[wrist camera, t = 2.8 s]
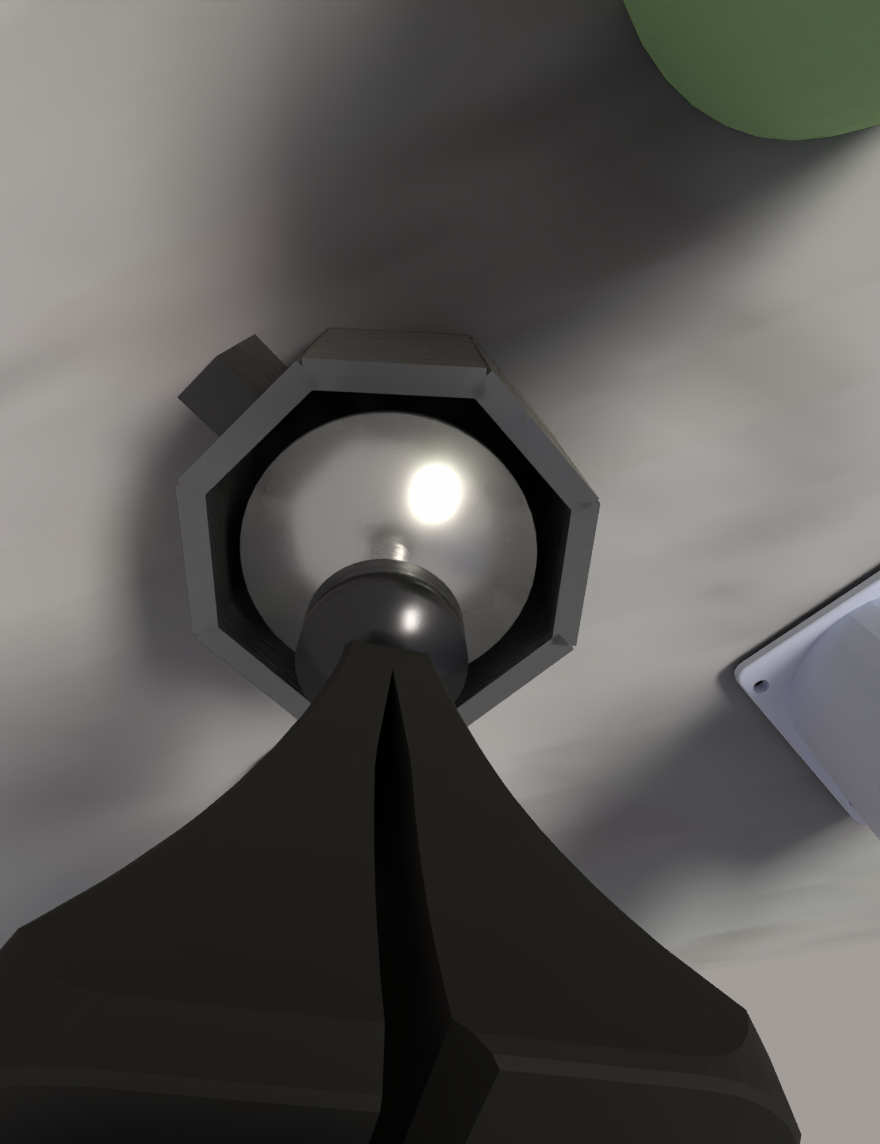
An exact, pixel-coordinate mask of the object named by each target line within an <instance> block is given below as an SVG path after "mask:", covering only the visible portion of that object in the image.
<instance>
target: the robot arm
mask: <svg viewBox="0 0 880 1144" xmlns="http://www.w3.org/2000/svg"><path fill="white" fill-rule="evenodd" d="M734 677H735V679H736V681H737V682H738V683H739V685H740V686H741V687H742V688H743V689H744V691H745V692H746V693H747V694H748V695H749V697H750V698H751V699H752V700H753V701H754V702H755V704H756V705H757V706H758V707H759V708H760V709H761V711H762V712H763V713H764V714H765V715H766V717H767V718H768V719H769V720H770V721H771V722H772V724H773V725H774V726H775V727H776V728H777V730H778V731H779V732H780V733H781V734H782V735H783V737H784V738H785V739H786V740H787V741H788V743H789V744H790V745H791V746H792V747H793V748H794V750H795V751H796V752H797V753H798V754H799V756H800V757H801V758H802V759H803V760H804V761H805V763H806V764H807V765H808V766H809V767H810V769H811V770H812V771H813V772H814V773H815V774H816V776H817V777H818V778H819V779H820V780H821V781H822V783H823V784H824V785H825V786H826V787H827V789H828V790H829V791H830V792H831V793H832V794H833V796H834V797H835V798H836V799H837V800H838V802H839V803H840V804H841V805H842V806H843V807H844V809H845V810H846V811H847V812H848V813H849V815H850V816H851V817H852V818H853V819H854V820H855V822H857V823H858V824H863V825H865V824H867V825H868V826H869V827H870V828H871V830H872V831H873V832H874V834H875V835H876V836H877V837H878V839H879V840H880V571H878V572H877V573H875V574H874V575H872V576H871V577H869V578H868V579H866V580H865V581H863V582H862V583H860V584H859V585H857V586H856V587H854V588H853V589H851V590H850V591H848V592H847V593H845V594H844V595H842V596H841V597H839V598H838V599H836V600H835V601H833V602H832V603H830V604H829V605H827V606H826V607H824V608H823V609H821V610H820V611H818V612H817V613H815V614H814V615H812V616H811V617H809V618H808V619H806V620H805V621H803V622H802V623H800V624H799V625H797V626H796V627H794V628H793V629H791V630H790V631H788V632H787V633H785V634H784V635H782V636H781V637H779V638H778V639H776V640H774V641H773V642H771V643H770V644H768V645H767V646H765V647H764V648H762V649H761V650H759V651H758V652H756V653H755V654H753V655H752V656H750V657H749V658H747V659H746V660H744V661H743V662H741V663H740V664H739V665H738V666H737V667H736V669H735V671H734ZM761 680H763V682H762V683H761V684H760V685H758V686H754V685H755V684H756V683H757V682H758V681H761ZM800 1139H801V1133H800V1130H799V1128H798V1125H797V1123H796V1121H795V1118H794V1116H793V1113H792V1111H791V1108H790V1106H789V1103H788V1101H787V1099H786V1096H785V1094H784V1091H783V1089H782V1087H781V1084H780V1082H779V1080H778V1077H777V1075H776V1072H775V1070H774V1067H773V1065H772V1062H771V1060H770V1058H769V1056H768V1054H767V1051H766V1049H765V1047H764V1045H763V1043H762V1041H761V1039H760V1037H759V1035H758V1033H757V1031H756V1029H755V1027H754V1025H753V1023H752V1021H751V1019H750V1017H749V1015H748V1013H747V1011H746V1010H745V1009H744V1008H743V1007H742V1006H740V1005H739V1004H737V1003H736V1002H735V1001H734V1000H732V999H731V998H730V997H728V996H727V995H726V994H724V993H723V992H722V991H720V990H719V989H718V988H716V987H715V986H714V985H713V984H711V983H710V982H709V981H707V980H706V979H704V978H703V977H702V976H701V975H699V974H698V973H697V972H695V971H694V970H693V969H691V968H690V967H689V966H687V965H686V964H685V963H684V962H682V961H681V960H680V959H678V958H677V957H676V956H674V955H673V954H672V953H670V952H669V951H668V950H667V949H665V948H664V947H663V946H662V945H660V944H659V943H658V942H657V941H656V940H655V939H653V938H652V937H651V936H650V935H649V934H648V933H646V932H645V931H644V930H643V929H642V928H641V927H639V926H638V925H637V924H636V923H635V922H634V921H633V920H631V919H630V918H629V917H628V916H627V915H626V914H624V913H623V912H622V911H621V910H620V909H619V908H618V907H617V906H615V905H614V904H613V903H612V902H611V901H610V900H609V899H608V898H607V897H606V896H605V895H604V894H603V893H601V892H600V891H599V890H598V889H597V888H596V887H595V886H594V885H593V884H592V883H591V882H590V881H589V880H588V879H587V878H586V877H585V876H584V875H583V874H582V873H581V872H580V871H579V870H578V869H577V868H576V867H575V866H574V865H573V864H572V863H571V862H570V861H569V860H568V859H567V858H566V857H565V856H564V855H563V854H562V853H561V852H560V851H559V849H558V848H557V847H556V846H555V845H554V844H553V843H552V842H551V841H550V840H549V838H548V837H547V836H546V835H545V834H544V833H543V832H542V831H541V830H540V828H539V827H538V826H537V825H536V823H535V822H534V821H533V820H532V819H531V817H530V816H529V815H528V814H527V813H526V811H525V810H524V809H523V808H522V807H521V805H520V804H519V803H518V802H517V801H516V799H515V798H514V797H513V795H512V794H511V793H510V791H509V790H508V789H507V787H506V786H505V785H504V783H503V782H502V780H501V779H500V777H499V776H498V775H497V773H496V772H495V770H494V769H493V767H492V766H491V764H490V763H489V761H488V760H487V758H486V757H485V755H484V754H483V752H482V750H481V749H480V747H479V746H478V744H477V742H476V741H475V739H474V737H473V736H472V734H471V732H470V731H469V729H468V727H467V725H466V724H465V722H464V720H463V719H462V717H461V715H460V713H459V712H458V710H457V708H456V706H455V704H454V702H453V700H452V698H451V697H450V695H449V693H448V691H447V689H446V687H445V685H444V683H443V681H442V679H441V677H440V675H439V672H438V670H437V668H436V666H435V664H434V662H433V660H432V659H431V657H430V655H429V654H428V653H422V652H417V651H411V650H406V649H400V648H395V647H389V646H384V645H378V644H372V643H367V642H361V641H356V640H352V641H351V642H349V643H347V644H345V646H344V650H343V653H342V655H341V657H340V660H339V662H338V664H337V665H336V667H335V669H334V671H333V672H332V674H331V676H330V677H329V679H328V680H327V682H326V684H325V685H324V686H323V688H322V689H321V690H320V692H319V693H318V695H317V696H316V697H315V699H314V700H313V701H312V703H311V704H310V706H309V707H308V708H307V710H306V711H305V712H304V713H303V715H302V716H301V717H300V718H299V719H298V720H297V722H296V723H295V724H294V725H293V726H292V727H291V728H290V730H289V731H288V732H287V733H286V734H285V735H284V736H283V738H282V739H281V740H280V741H279V742H278V743H277V744H276V745H275V747H274V748H273V749H272V750H271V751H270V752H269V753H268V754H267V755H266V756H265V757H264V758H263V759H262V760H261V761H260V762H259V763H258V764H257V765H256V766H255V767H254V768H253V769H252V770H250V771H249V772H248V773H247V774H246V775H245V776H244V777H243V778H242V779H241V780H240V781H239V782H238V783H236V784H235V785H234V786H233V787H232V788H231V789H229V790H228V791H227V792H226V793H225V794H223V795H222V796H221V797H220V798H219V799H217V800H216V801H215V802H214V803H213V804H211V805H210V806H209V807H208V808H207V809H205V810H204V811H203V812H202V813H200V814H199V815H198V816H197V817H195V818H194V819H193V820H191V821H190V822H189V823H188V824H186V825H185V826H184V827H182V828H181V829H180V830H178V831H177V832H175V833H174V834H172V835H171V836H169V837H168V838H166V839H165V840H164V841H162V842H161V843H159V844H158V845H156V846H155V847H153V848H152V849H150V850H149V851H147V852H146V853H145V854H143V855H142V856H140V857H139V858H137V859H136V860H134V861H133V862H131V863H130V864H128V865H127V866H126V867H124V868H123V869H121V870H119V871H118V872H116V873H115V874H113V875H111V876H110V877H108V878H107V879H105V880H103V881H102V882H100V883H98V884H96V885H95V886H93V887H91V888H89V889H88V890H86V891H84V892H82V893H81V894H79V895H77V896H75V897H74V898H72V899H70V900H68V901H67V902H65V903H63V904H61V905H60V906H58V907H56V908H54V909H53V910H51V911H49V912H47V913H46V914H44V915H42V916H40V917H39V918H37V919H35V920H33V921H32V922H30V923H28V924H26V925H24V926H22V927H21V928H19V929H18V930H17V931H16V932H15V933H14V934H13V935H12V937H11V938H10V939H9V940H8V941H7V942H6V944H5V945H4V946H3V947H2V948H1V950H0V1144H800Z"/></svg>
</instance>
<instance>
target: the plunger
mask: <svg viewBox="0 0 880 1144" xmlns="http://www.w3.org/2000/svg"><path fill="white" fill-rule="evenodd" d="M240 558H241V564H242V571H243V576H244V579H245V582H246V586H247V589H248V592H249V594H250V596H251V598H252V600H253V603H254V605H255V607H256V608H257V610H258V612H259V613H260V615H261V616H262V618H263V620H264V621H265V622H266V624H267V625H268V626H269V627H270V628H271V630H272V631H273V632H274V633H275V635H276V636H277V637H279V638H280V639H281V640H282V641H283V642H284V643H285V644H286V645H287V646H288V647H289V648H291V649H292V650H293V651H295V670H296V675H297V679H298V683H299V685H300V687H301V689H302V691H303V693H304V695H305V696H306V698H307V699H308V701H309V702H310V703H312V701H313V700H314V699H315V697H316V696H317V695H318V693H319V692H320V690H321V689H322V688H323V686H324V685H325V684H326V682H327V680H328V679H329V677H330V676H331V674H332V672H333V671H334V669H335V667H336V665H337V664H338V662H339V660H340V657H341V655H342V653H343V650H344V646H345V644H347V643H349V642H351V641H352V640H356V641H361V642H367V643H372V644H378V645H384V646H389V647H395V648H400V649H406V650H411V651H417V652H422V653H428V654H429V655H430V657H431V659H432V660H433V662H434V664H435V666H436V668H437V670H438V672H439V675H440V677H441V679H442V681H443V683H444V685H445V687H446V689H447V691H448V693H449V695H450V697H451V698H452V700H453V702H454V703H455V701H456V700H457V698H458V697H459V695H460V693H461V691H462V689H463V687H464V685H465V681H466V678H467V673H468V664H469V663H470V662H472V661H473V660H475V659H476V658H478V657H479V656H481V655H482V654H484V653H485V652H486V651H488V650H489V649H490V648H491V647H492V646H493V645H495V644H496V643H497V642H498V641H499V640H500V639H501V638H502V637H503V636H504V634H505V633H506V632H507V631H508V630H509V629H510V627H511V626H512V625H513V623H514V622H515V620H516V619H517V617H518V616H519V614H520V612H521V610H522V608H523V607H524V605H525V603H526V601H527V598H528V595H529V593H530V590H531V587H532V584H533V580H534V575H535V570H536V560H537V542H536V531H535V527H534V522H533V518H532V514H531V511H530V509H529V506H528V504H527V501H526V499H525V496H524V494H523V492H522V490H521V488H520V486H519V484H518V483H517V481H516V479H515V477H514V475H513V474H512V473H511V471H510V470H509V469H508V467H507V466H506V465H505V464H504V462H503V461H502V460H501V459H500V458H499V457H498V456H497V455H496V454H495V453H494V452H493V451H492V450H491V449H490V448H489V447H488V446H487V445H486V444H484V443H483V442H482V441H480V440H479V439H478V438H476V437H475V436H474V435H472V434H471V433H469V432H467V431H465V430H463V429H462V428H460V427H458V426H456V425H454V424H452V423H449V422H447V421H444V420H442V419H439V418H437V417H434V416H430V415H426V414H422V413H418V412H412V411H403V410H369V411H363V412H356V413H351V414H348V415H344V416H341V417H337V418H334V419H331V420H329V421H327V422H325V423H322V424H320V425H318V426H316V427H314V428H312V429H311V430H309V431H307V432H306V433H304V434H302V435H301V436H299V437H298V438H296V439H295V440H294V441H293V442H292V443H290V444H289V445H288V446H287V447H286V448H284V449H283V450H282V451H281V452H280V454H279V455H278V456H277V457H276V458H275V459H274V460H273V461H272V462H271V464H270V465H269V466H268V468H267V469H266V471H265V472H264V474H263V475H262V477H261V478H260V480H259V482H258V483H257V485H256V486H255V489H254V491H253V493H252V495H251V497H250V499H249V501H248V504H247V507H246V511H245V514H244V517H243V521H242V528H241V535H240Z"/></svg>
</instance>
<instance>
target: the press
mask: <svg viewBox="0 0 880 1144" xmlns="http://www.w3.org/2000/svg"><path fill="white" fill-rule="evenodd" d="M178 398H179V399H180V400H181V401H182V402H183V403H184V404H185V405H186V406H187V407H188V408H189V409H190V410H192V411H193V412H194V413H195V414H196V415H197V416H198V417H199V418H200V419H201V420H202V421H203V422H204V423H205V424H206V425H208V426H209V427H210V428H211V429H212V430H213V431H214V432H215V433H216V434H217V435H218V436H219V438H218V439H217V440H216V441H215V442H214V443H213V444H212V445H211V446H210V447H209V448H208V449H207V450H206V451H205V452H204V453H203V454H202V455H201V456H200V457H199V458H198V459H197V460H196V461H195V462H194V463H193V464H192V465H191V466H190V467H189V468H188V469H187V470H186V471H185V472H184V473H183V475H182V476H181V477H180V478H179V479H178V480H177V481H178V483H177V484H176V485H175V489H176V497H177V506H178V514H179V523H180V531H181V540H182V548H183V557H184V565H185V574H186V583H187V591H188V600H189V608H190V617H191V625H192V634H197V635H196V637H195V638H196V639H197V640H198V641H200V642H201V643H202V644H203V645H205V646H206V647H207V648H208V649H210V650H211V651H212V652H214V653H215V654H216V655H217V656H219V657H220V658H221V659H222V660H224V661H225V662H226V663H227V664H229V665H230V666H231V667H232V668H234V669H235V670H236V671H237V672H239V673H240V674H241V675H242V676H244V677H245V678H246V679H247V680H249V681H250V682H251V683H252V684H254V685H255V686H256V687H258V688H259V689H260V690H261V691H263V692H264V693H265V694H266V695H268V696H269V697H270V698H271V699H273V700H274V701H275V702H276V703H278V704H279V705H280V706H281V707H283V708H284V709H285V710H286V711H288V712H289V713H290V714H291V715H293V716H294V717H295V718H297V719H299V718H300V717H301V716H302V715H303V713H304V712H305V711H306V710H307V708H308V707H309V706H310V704H311V703H310V702H309V701H308V699H307V698H306V696H305V695H304V693H303V691H302V689H301V687H300V685H299V683H298V679H297V675H296V670H295V651H293V650H292V649H291V648H289V647H288V646H287V645H286V644H285V643H284V642H283V641H282V640H281V639H280V638H279V637H277V636H276V635H275V633H274V632H273V631H272V630H271V628H270V627H269V626H268V625H267V624H266V622H265V621H264V620H263V618H262V616H261V615H260V613H259V612H258V610H257V608H256V607H255V605H254V603H253V600H252V598H251V596H250V594H249V592H248V589H247V586H246V582H245V579H244V576H243V571H242V564H241V558H240V535H241V528H242V521H243V517H244V514H245V511H246V507H247V504H248V501H249V499H250V497H251V495H252V493H253V491H254V489H255V486H256V485H257V483H258V482H259V480H260V478H261V477H262V475H263V474H264V472H265V471H266V469H267V468H268V466H269V465H270V464H271V462H272V461H273V460H274V459H275V458H276V457H277V456H278V455H279V454H280V452H281V451H282V450H283V449H284V448H286V447H287V446H288V445H289V444H290V443H292V442H293V441H294V440H295V439H296V438H298V437H299V436H301V435H302V434H304V433H306V432H307V431H309V430H311V429H312V428H314V427H316V426H318V425H320V424H322V423H325V422H327V421H329V420H331V419H334V418H337V417H341V416H344V415H348V414H351V413H356V412H363V411H369V410H403V411H412V412H418V413H422V414H426V415H430V416H434V417H437V418H439V419H442V420H444V421H447V422H449V423H452V424H454V425H456V426H458V427H460V428H462V429H463V430H465V431H467V432H469V433H471V434H472V435H474V436H475V437H476V438H478V439H479V440H480V441H482V442H483V443H484V444H486V445H487V446H488V447H489V448H490V449H491V450H492V451H493V452H494V453H495V454H496V455H497V456H498V457H499V458H500V459H501V460H502V461H503V462H504V464H505V465H506V466H507V467H508V469H509V470H510V471H511V473H512V474H513V475H514V477H515V479H516V481H517V483H518V484H519V486H520V488H521V490H522V492H523V494H524V496H525V499H526V501H527V504H528V506H529V509H530V511H531V514H532V518H533V522H534V527H535V531H536V542H537V560H536V570H535V575H534V580H533V584H532V587H531V590H530V593H529V595H528V598H527V601H526V603H525V605H524V607H523V608H522V610H521V612H520V614H519V616H518V617H517V619H516V620H515V622H514V623H513V625H512V626H511V627H510V629H509V630H508V631H507V632H506V633H505V634H504V636H503V637H502V638H501V639H500V640H499V641H498V642H497V643H496V644H495V645H493V646H492V647H491V648H490V649H489V650H488V651H486V652H485V653H484V654H482V655H481V656H479V657H478V658H476V659H475V660H473V661H472V662H470V663H469V664H468V673H467V678H466V681H465V685H464V687H463V689H462V691H461V693H460V695H459V697H458V698H457V700H456V701H455V703H454V704H455V706H456V708H457V710H458V712H459V713H460V715H461V717H462V719H463V720H464V722H465V724H466V725H467V726H469V725H470V724H471V723H473V722H474V721H475V720H477V719H478V718H480V717H481V716H482V715H484V714H485V713H487V712H488V711H489V710H491V709H492V708H493V707H495V706H496V705H498V704H499V703H500V702H502V701H503V700H504V699H506V698H507V697H509V696H510V695H511V694H513V693H514V692H516V691H517V690H518V689H520V688H521V687H522V686H524V685H525V684H527V683H528V682H529V681H531V680H532V679H533V678H535V677H536V676H538V675H539V674H540V673H542V672H543V671H544V670H546V669H547V668H549V667H550V666H551V665H553V664H554V663H556V662H557V661H558V660H560V659H561V658H562V657H564V656H565V655H567V654H568V653H569V652H571V651H572V650H573V647H572V645H573V646H576V643H577V637H578V631H579V625H580V620H581V614H582V608H583V602H584V596H585V590H586V584H587V578H588V573H589V567H590V561H591V555H592V549H593V543H594V537H595V531H596V525H597V520H598V514H599V508H600V503H599V501H598V499H599V498H598V497H597V495H596V494H595V493H594V491H593V490H592V488H591V487H590V486H589V484H588V483H587V481H586V480H585V479H584V477H583V476H582V474H581V473H580V472H579V470H578V469H577V468H576V466H575V465H574V463H573V462H572V461H571V459H570V458H569V456H568V455H567V454H566V452H565V451H564V450H563V448H562V447H561V445H560V444H559V443H558V441H557V440H556V438H555V437H554V436H553V435H552V433H551V432H550V431H549V430H548V429H547V427H546V426H545V425H544V424H543V422H542V421H541V420H540V419H539V418H538V416H537V415H536V414H535V413H534V412H533V410H532V409H531V408H530V407H529V406H528V404H527V403H526V402H525V401H524V400H523V398H522V397H521V396H520V395H519V394H518V392H517V391H516V390H515V389H514V388H513V386H512V385H511V384H510V383H509V382H508V380H507V379H506V378H505V377H504V375H503V374H502V373H501V372H500V371H499V369H498V368H497V367H496V366H495V365H494V363H493V362H492V361H491V360H490V359H489V357H488V356H487V355H486V354H485V353H484V351H483V350H482V349H481V348H480V347H479V345H478V344H477V343H476V342H475V341H474V339H473V338H471V339H470V338H469V336H468V335H452V334H435V333H417V332H399V331H382V330H364V329H347V328H330V329H329V331H328V330H326V331H325V332H324V333H323V334H322V335H321V336H320V337H319V338H318V339H317V340H316V341H315V342H314V343H313V344H312V345H311V346H310V347H309V348H308V349H307V350H306V351H305V352H304V353H303V354H302V355H301V356H300V357H299V358H298V359H297V360H296V361H295V362H294V363H293V364H292V365H291V366H290V367H289V368H287V367H286V366H285V365H284V364H283V363H282V362H281V361H280V360H279V359H278V357H277V356H276V355H275V354H274V353H273V352H272V351H271V350H270V349H269V348H268V347H267V346H266V345H265V344H264V343H263V342H262V341H261V340H260V339H259V338H258V337H257V336H256V335H255V334H254V335H252V336H251V337H249V338H247V339H246V340H244V341H242V342H240V343H239V344H237V345H235V346H233V347H232V348H230V349H228V350H227V351H225V352H223V353H221V354H220V355H218V356H216V357H215V358H214V360H213V361H212V362H211V363H210V364H209V365H208V366H207V367H206V368H205V369H204V370H203V371H202V372H201V373H200V374H199V375H198V376H197V377H196V379H195V380H194V381H193V382H192V383H191V384H190V385H189V386H188V387H187V388H186V389H185V390H184V391H183V392H182V393H181V394H180V395H179V396H178Z"/></svg>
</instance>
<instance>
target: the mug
mask: <svg viewBox="0 0 880 1144" xmlns="http://www.w3.org/2000/svg"><path fill="white" fill-rule="evenodd" d="M623 2H624V4H625V7H626V9H627V11H628V13H629V16H630V18H631V20H632V23H633V25H634V27H635V30H636V32H637V34H638V36H639V39H640V41H641V43H642V45H643V47H644V48H645V50H646V51H647V53H648V54H649V55H650V57H651V58H652V60H653V61H654V63H655V64H656V66H657V67H658V69H659V70H660V72H661V73H662V75H663V76H664V78H665V79H666V80H667V81H668V82H669V83H670V84H671V85H672V86H673V87H674V88H675V89H676V90H677V91H678V92H679V93H680V94H681V95H682V96H683V97H684V98H685V99H686V100H687V101H688V102H689V103H690V104H691V105H692V106H694V107H695V108H697V109H698V110H700V111H702V112H703V113H705V114H707V115H708V116H710V117H711V118H713V119H715V120H716V121H718V122H719V123H721V124H723V125H724V126H727V127H730V128H733V129H736V130H739V131H742V132H745V133H748V134H751V135H754V136H757V137H761V138H771V139H781V140H791V141H798V140H807V139H816V138H824V137H833V136H837V135H841V134H845V133H849V132H853V131H857V130H861V129H865V128H869V127H873V126H877V125H880V0H623Z"/></svg>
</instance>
